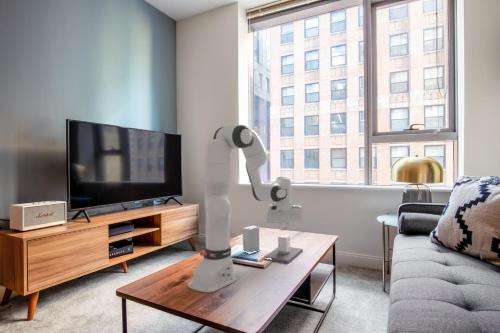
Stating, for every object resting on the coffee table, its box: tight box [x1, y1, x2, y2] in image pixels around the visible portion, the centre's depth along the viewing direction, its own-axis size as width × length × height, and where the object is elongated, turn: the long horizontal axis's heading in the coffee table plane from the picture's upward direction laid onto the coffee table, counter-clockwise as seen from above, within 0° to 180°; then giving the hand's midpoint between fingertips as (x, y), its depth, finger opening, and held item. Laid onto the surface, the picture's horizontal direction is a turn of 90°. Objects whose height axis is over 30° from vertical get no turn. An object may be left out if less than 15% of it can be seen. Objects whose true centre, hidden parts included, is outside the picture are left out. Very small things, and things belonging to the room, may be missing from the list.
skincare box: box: [242, 225, 260, 252], centre depth 169 cm, size 8×6×15 cm
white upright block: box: [277, 234, 291, 252], centre depth 163 cm, size 5×5×8 cm
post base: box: [263, 246, 304, 264], centre depth 163 cm, size 22×14×10 cm, turn 150°
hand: (283, 230), depth 162 cm, fingers closed
